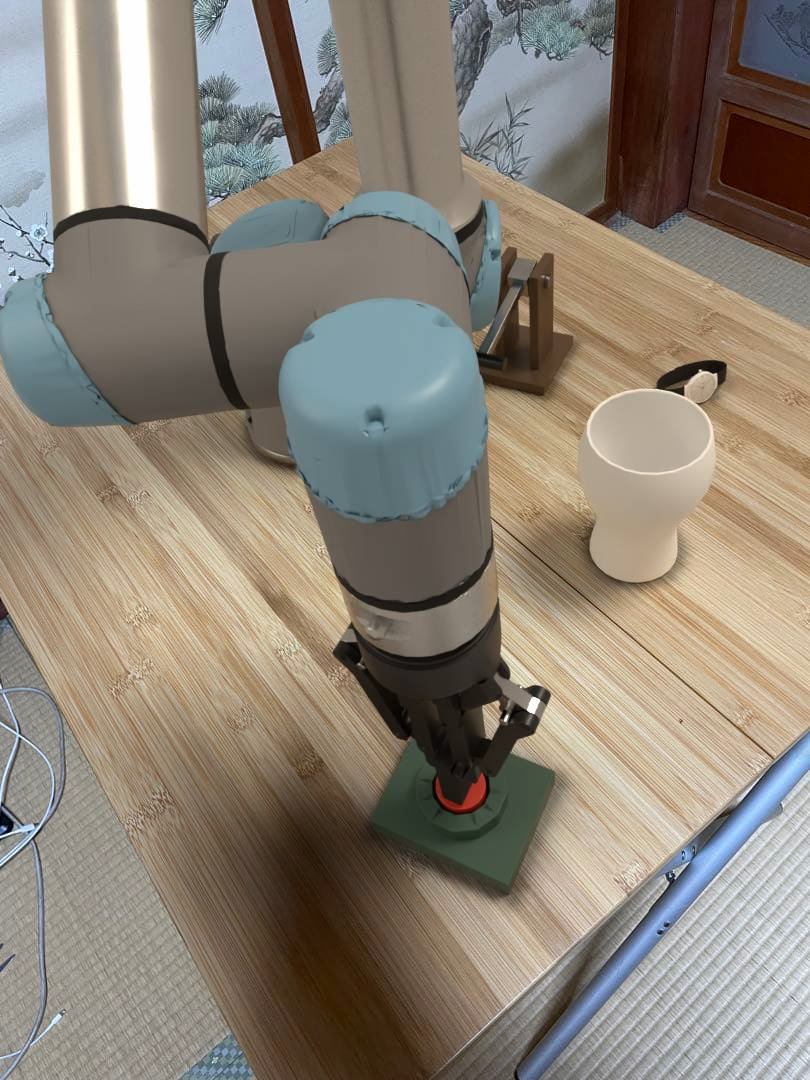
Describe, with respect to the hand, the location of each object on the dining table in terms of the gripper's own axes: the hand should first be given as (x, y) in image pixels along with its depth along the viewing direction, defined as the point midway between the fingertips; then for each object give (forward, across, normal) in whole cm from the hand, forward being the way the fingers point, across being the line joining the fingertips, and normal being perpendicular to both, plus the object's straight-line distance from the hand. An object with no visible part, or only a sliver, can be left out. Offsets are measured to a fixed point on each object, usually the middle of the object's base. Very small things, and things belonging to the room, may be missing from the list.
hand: (460, 784), depth 60 cm
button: (+2, 0, 0) cm, 2 cm away
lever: (-4, -15, +44) cm, 47 cm away
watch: (+5, +3, +50) cm, 50 cm away
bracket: (+4, -15, +49) cm, 52 cm away
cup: (+5, +4, +28) cm, 29 cm away
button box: (+5, 0, 0) cm, 5 cm away
